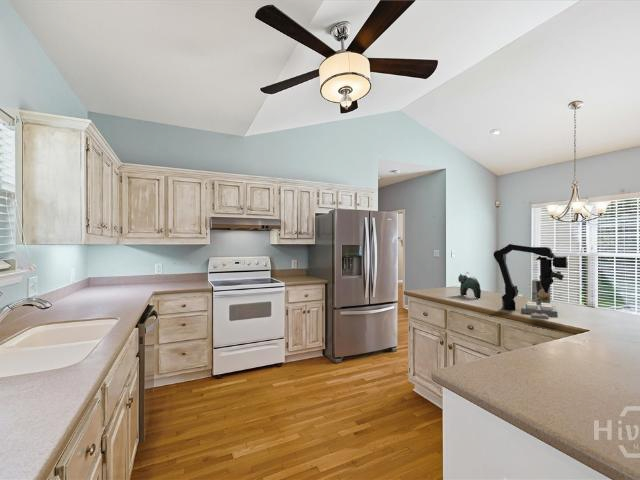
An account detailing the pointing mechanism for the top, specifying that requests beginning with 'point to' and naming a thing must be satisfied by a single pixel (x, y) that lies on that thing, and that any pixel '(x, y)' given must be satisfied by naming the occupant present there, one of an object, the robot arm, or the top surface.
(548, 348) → the top surface
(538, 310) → the control panel
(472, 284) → the ceramic cat
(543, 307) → the button front right
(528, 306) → the button front left
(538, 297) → the coffee box
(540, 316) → the pattern card
